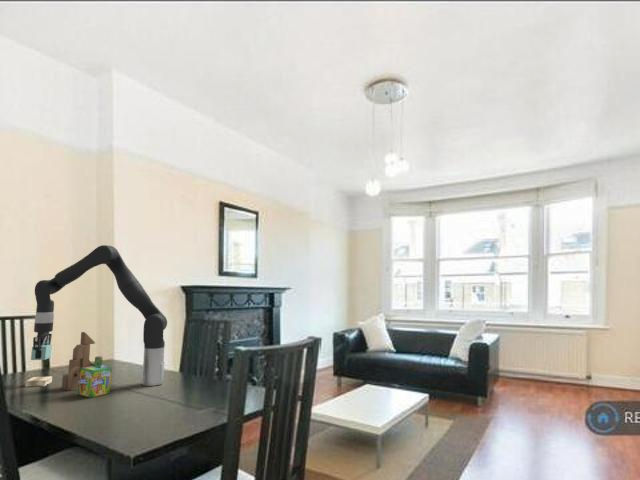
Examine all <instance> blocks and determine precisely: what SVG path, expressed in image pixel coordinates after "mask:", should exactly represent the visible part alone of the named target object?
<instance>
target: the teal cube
mask: <svg viewBox="0 0 640 480" xmlns="http://www.w3.org/2000/svg"><path fill="white" fill-rule="evenodd" d="M30 353H31V356H30V361H42V360H43V361H46V360H48V359H50V358H51V356H52V344H50V345H44V346H43V347H42V351H41V358H40V359H35V353H36V351H35V350H33V346H31V352H30Z"/></svg>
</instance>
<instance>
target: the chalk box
mask: <svg viewBox="0 0 640 480" xmlns="http://www.w3.org/2000/svg"><path fill="white" fill-rule="evenodd" d="M97 362H99V365H97ZM93 364H94V366H90V367H83V368H81V373H80V380H79V382H78V396H83V397H86V398H89V399H91V398H96V397H100V396H103V395H108V394H110V393H111V384H112V383H111V380H112V373H113V372H112V371H113V370H112V369H113V368H112V367H111V366H108V365H106V364H105V365H103V359H102V360H101V359H96V360H95V359H94V363H93ZM101 364H102V365H101Z"/></svg>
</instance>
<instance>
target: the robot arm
mask: <svg viewBox="0 0 640 480" xmlns="http://www.w3.org/2000/svg"><path fill="white" fill-rule="evenodd" d="M100 265H106V266H107V267H108V269H109V270H110V271H111V272H112V274H113V275H114V278H115V280H116V281H115V282H116V285H117V287H118V290H119V291H120V293H121V294H122V295H123V297H124V299H126V300H127V301H128V303H130V304H131V305H132V306H133V307H134V308H136V309H137V310H138V311H139V312H140V313H141V315H142V316H143V317H144V323H143V334H142V335H143V345H144V346H143V348H144V349H143V363H142V366H143V367H142V379H141V380H142V381H141V382H142V383H141V384H142V386H147V387H151V386H160V385H163V383H164V378H165V346H166V344H165V340H164V330H166V328H167V326H168V320H167V317H166V316H165V315H164V314H163V312H161V311H160V309H159V308H158V307H157V306H156V304H155V303H154V302H153V300H152V299H151V297H150V295H148V293H147V291H146V290H145V289H144V287H143V285H142V284H141V283H140V281H139V280H138V279H137V278H136V277H135V274H134V273H133V272H132V271H131V270H130V269H129V267H128V266H127V264H126V263H125V261H124V260H123V258H122V256H121V253H120V252H119V251H118V249H117V248H115V247H114V246H113V245H105V244H104V245H103V244H102V245H99V246H97V247H96V248H95V249H94V250H92V251H91V252H89V253H88V254H86V256H84V257H82V258H81V259H80V260H78V261H77V262H75V263H73V264H71V265H70V266H68V267H66V268H64V269H62V270H61V271H58V272H57V273H56V274H55V275H54V277H53V278H51V279H48V280H47V279H43V280H39V281H38V282H36V284H35V286H34V296H35V301H36V309H35V310H36V311H35V315H34V325H33V332H34V333H37V335H36V336H33V338H32V339H33V340H32V342H33V343H32V345H33V346H32V347H33V350H35V351H36V353H35V359H40V358H41V351H42V347H43V346H44V345H52V344H51V343H52V338H53V337H52V336H53V334H52V333H50V332H53V330H54V317H55V316H54V314H55V313H54V312H55V302H54V300H53V299H51V295H54V294H56V293H58V292H60V291H61V290H62V289H63V288H65V287H66V286H67V285H70V284H71V283H72V282H74V281H76V280H78V279H79V278H81V276H83V275H84V274H85V273H87V272H88V271H89V270H91V269H93V268H95V267H98V266H100Z"/></svg>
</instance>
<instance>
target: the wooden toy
mask: <svg viewBox="0 0 640 480" xmlns="http://www.w3.org/2000/svg"><path fill="white" fill-rule="evenodd" d="M79 342H80V343H79V344H77V345H75V347H74V348H73V350H72V359H69V360H68V363H69V364H68V372H67V373H66V374H63V375H62V382H61V390H65V391H76V390H79V383H80V373H81V368H83V367H90V366H94V363H92V362H91V360H90V354H91V353H90V352H91V351H90V350H91V345H95V344H96V341H94V340H93V339H92V338H91V336H90V335H88V334H87V333H86V331H81V333H80V341H79ZM96 359H101V360H103V356H102V355H101V356H95V357H94V361H95V360H96ZM97 365H99V362H97ZM101 365H103V363H102V364H101Z"/></svg>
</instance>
